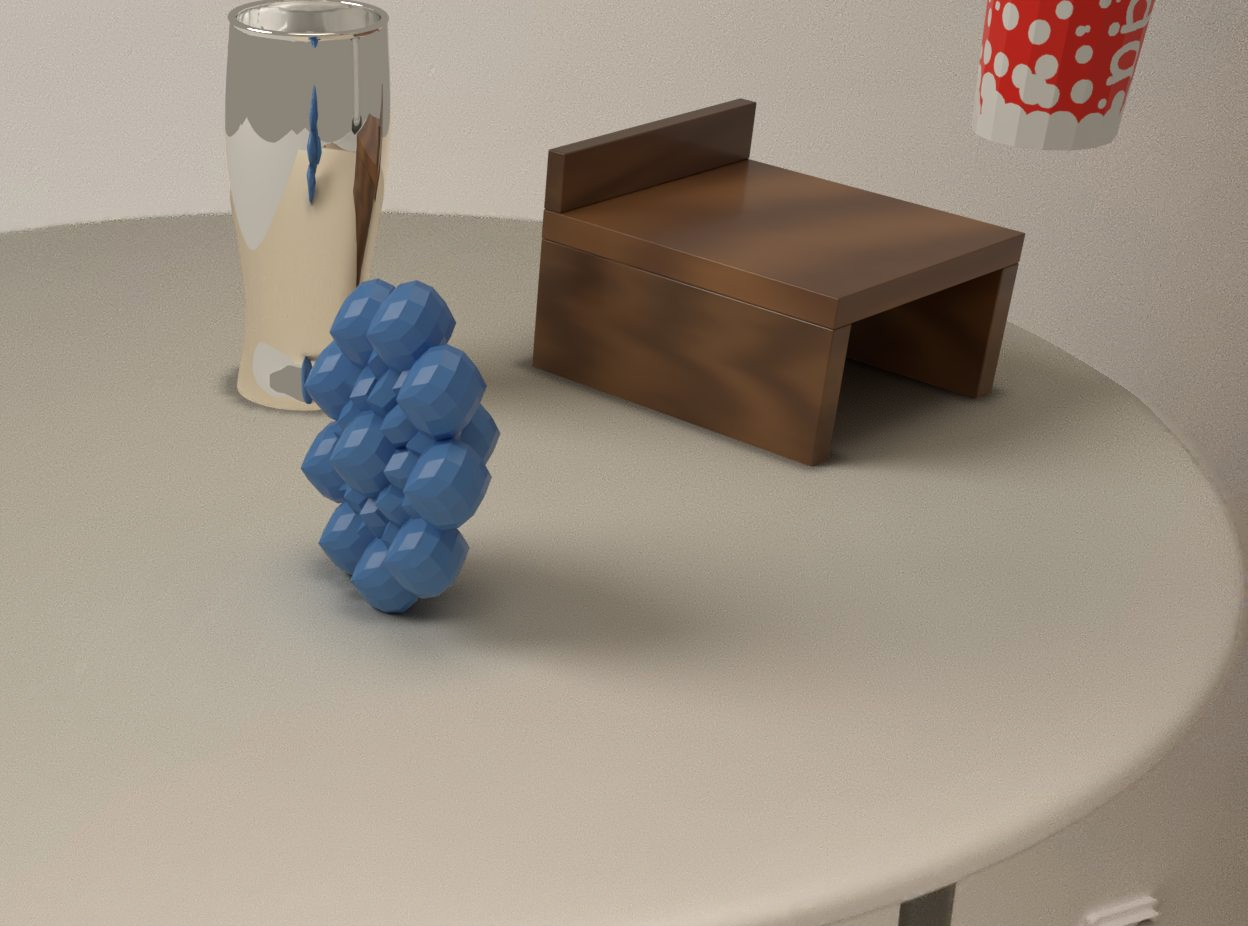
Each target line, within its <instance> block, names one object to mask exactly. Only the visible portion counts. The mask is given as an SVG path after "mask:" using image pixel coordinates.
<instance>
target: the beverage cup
mask: <svg viewBox="0 0 1248 926" xmlns="http://www.w3.org/2000/svg"><path fill="white" fill-rule="evenodd" d="M1155 2H1156V0H986V6H985V7H986V8H985V17H984V23H983V31H982V39H981V47H980V55H979V63H978V69H977V78H976V86H975V91H974V92H975V94H974V100H973V109H972V117H971V125H970V127H971V128H972V131H973V132H974V134H975V135H977V136H978V137H981V138H983V139H986V140H987V141H989V142H992V143H997V144H1002V145H1004V146H1008V147H1014V148H1022V149H1029V150H1037V151H1081V150H1089V149H1096V148H1100V147H1103V146H1105V145H1109V144H1112V143H1113V141H1114V140H1115V138H1117V136H1118V132H1119V129H1120V124H1121V122H1122V119H1123V114H1124V110H1125V108H1126V104H1127V101H1128V97H1129V93H1130V90H1131V87H1132V83H1133V79H1134V76H1135V73H1136V68H1137V65H1138V62H1139V58H1140V54H1141V52H1142V48H1143V44H1144V42H1145V37H1146V33H1147V30H1148V27H1149V23H1150V20H1151V17H1152V13H1153V8H1154V6H1155Z"/></svg>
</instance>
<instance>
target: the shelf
mask: <svg viewBox="0 0 1248 926" xmlns="http://www.w3.org/2000/svg"><path fill="white" fill-rule="evenodd" d="M756 111H757V102H756V101H753V100H750V99H746V98H745V99H744V98H741V97H740V98H736V99H733V100H729V101H725V102H721V103H717V104H714V105H711V106H707V107H702V108H699V109H695V110H691V111H688V112H683V113H680V114H677V115H673V116H669V117H665V118H662V119H657V120H654V121H651V122H646V123H643V124H639V125H636V126H632V127H628V128H624V129H620V130H616V131H613V132H609V133H606V134H605V133H604V134H602V135H598V136H594V137H590V138H587V139H583V140H579V141H576V142H575V141H574V142H572V143H568V144H565V145H560V146H557V147H552V148H549V149H548V151H547V161H546V163H547V164H546V176H545V190H544V201H543V202H544V203H543V208H544V209H543V215H542V226H541V227H542V229H541V243H540V254H539V255H540V256H539V269H538V282H537V295H536V296H537V297H536V310H535V321H534V322H535V323H534V336H533V346H532V347H533V349H532V359H531V360H532V361H531V367H533V368H536V369H538V370H541V371H544V372H547V373H549V374H552V375H555V376H558V377H560V378H563V379H566V380H569V381H573V382H574V383H576V384H577V383H578V384H580V385H583V386H585V387H589V388H591V389H594V390H597V391H598V392H599V391H600V392H602V393H605V394H608V395H611V396H613V397H615V398H619V399H622V400H624V401H627V402H630V403H633V404H636V405H638V406H641V407H644V408H646V409H650V410H652V411H655V412H658V413H661V414H664V415H666V416H669V417H672V418H674V419H676V420H680V421H682V422H686V423H689V424H692V425H694V426H696V427H699V428H703V429H706V430H708V431H711V432H712V433H713V432H714V433H716V434H719V435H722V436H725V437H728V438H730V439H733V440H736V441H739V442H741V443H744V444H748V445H750V446H753V447H755V448H758V449H761V450H764V451H766V452H769V453H771V454H775V455H777V456H781V457H783V458H786V459H788V460H791V461H794V462H796V463H800V464H801V465H802V464H803V465H805V466H808V467H814V466H817V465H819V464H822V463H824V462H827V461H829V460H830V459H829V458H830V453H831V447H832V441H833V435H834V429H835V424H836V423H835V422H836V418H837V417H836V416H837V412H838V404H839V400H840V393H841V387H842V381H843V374H844V369H845V363H846V358H847V359H851V360H854V361H857V362H860V363H863V364H866V365H870V366H873V367H876V368H879V369H882V370H885V371H887V372H888V371H889V372H891V373H894V374H896V375H899V376H900V375H901V376H904V377H906V378H910V379H913V380H916V381H919V382H922V383H925V384H928V385H932V386H935V387H938V388H940V389H944V390H947V391H951V392H954V393H956V394H960V395H963V396H966V397H969V398H971V399H975V400H978V399H980V398H982V397H984V396H985V397H986V396H987V395H989V394H992V392H993V386H994V382H995V376H996V372H997V367H998V362H999V358H1000V353H1001V350H1002V344H1003V339H1004V335H1005V332H1006V326H1007V321H1008V317H1009V312H1010V307H1011V302H1012V297H1013V292H1014V288H1015V282H1016V279H1017V276H1018V275H1017V274H1018V270H1019V265H1020V261H1021V257H1022V252H1023V248H1024V242H1025V237H1026V233H1025V232H1023V231H1019V230H1016V229H1011V228H1008V227H1005V226H1002V225H1001V226H1000V225H996V224H993V223H991V222H990V223H989V222H985V221H982V220H978V219H975V218H972V217H971V218H970V217H967V216H964V215H960V214H956V213H952V212H948V211H945V210H941V209H937V208H933V207H929V206H925V205H922V204H918V203H914V202H911V201H907V200H903V199H900V198H896V197H893V196H889V195H884V194H881V193H877V192H873V191H870V190H866V189H863V188H859V187H854V186H851V185H848V184H843V183H840V182H837V181H833V180H829V179H824V178H822V177H819V176H813V175H809V174H807V173H804V172H803V173H802V172H799V171H795V170H792V169H788V168H783V167H780V166H776V165H772V164H769V163H765V162H761V161H758V160H753V159H751V158H750V156H751V148H752V143H753V142H752V141H753V135H754V134H753V133H754V128H755V127H754V126H755V119H756Z"/></svg>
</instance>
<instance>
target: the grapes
mask: <svg viewBox="0 0 1248 926" xmlns="http://www.w3.org/2000/svg"><path fill="white" fill-rule="evenodd" d="M456 325H457V321H456V318H455V317H454V315H453V313H452V311H451V309H450V308H449V306H448V304H447V302H446V301H445V299H444V298H443V297H442V296H441V295H440V293H439V292H438V291H437V290H436V289H435V287H433V286H431V285H429V284H427V283H424V282H422V281H420V280H418V279H415V280H411V281H406V282H402V283H399V284H398V285H397V286H395V285H394V284H391V283H389V282H387V281H385V280H383V279H380V278H379V277H378V278H374V279H369V280H368V281H365V282H362V283H361V284H360V285H359V286H358V287H357V288H356V289H355V290H354V291H352V292H351V293H350V294H349V295H348V297H347V298H346V299H345V301H344V302H343V304H342V306H341V308H340V310H339V311H338V313H337V315H336V317H335V319H334V322H333V324H332V327H331V329H330V334H331V336H332V337H333V339H334V340H333V341H332V342H331V343H330V344H329V345H328V346H327V347H326V348H325V349H324V350H323V351H322V352H321V353H320V355H319V356H318V358H317V360H316V362H315V364H314V365H313V367H312V369H311V371H310V373H309V375H308V378H307V380H306V383H305V385H304V387H305V388H306V390H307V391H308V393H309V395H310V396H311V398H312V399H313V400H314V402H315V403H316V404H317V405H318V406H319V407H320V408H321V410H320V411H322V412H323V414H325V415H326V417H327V418H330V420H331V419H332V421H330V422H329V423H328V424H327V425H326V426H324V427H323V429H322V430H320V431H319V432H318V433H317V434H316V436H315V438H314V439H313V441H312V443H311V445H310V446H309V448H308V450H307V452H306V454H305V456H304V458H303V460H302V464H301V466H300V470H301V471H302V473H303V475H304V476H305V478H306V479H307V480H308V481H309V483H310V484H311V485H312V486H313V487H314V488H315V489H316V491H318V493H320V494H321V495H322V497H324V498H325V499H328V500H330V501H331V502H334V503H336V504H338V505H337V507H336V508H335V509H334V511H333V512H332V514H331V516H330V518H329V519H328V521H327V522H326V525H324V526H325V527H324V528H323V530H322V533H321V535H320V538H319V540H318V545H319V547H320V548H321V549H322V551H323V552H324V554H325V555H326V556H327V557H328V558H329V560H331V562H333V564H334V565H335V566H336V567H337V568H338V569H339V570H340V571H342V572H344V573H345V574H348V575H350V576H351V579H350V583H351V585H352V586H353V588H355V590H356V591H357V593H358V594H359V595H360V596H361V597H362V598H363V599H364V600H365V601H366V603H367V604H369V606H370V607H372V608H374V609H376V610H378V611H381V612H383V613H384V614H385V613H386V614H387V613H388V614H389V613H390V614H392V613H393V614H394V613H395V614H397V613H398V614H403V613H405V612H406V611H407V610H409V609H410V608H411V607H412V606H413V605H415V604H416V603H417V602H418V600H419V598H420V599H421V600H422V599H430V598H437V597H440V596H441V595H442V594H443V593H445V591H447V590H448V589H449V588H450V587H452V586H453V585H454V583H455V581H456V579H457V577H458V576H459V574H460V572H461V571H462V570H463V567H464V565H465V562H466V560H467V557H468V554H469V551H470V548H471V547H470V546H469V545H470V544H469V543H468V542H467V540H466V538H465V537H464V535H463V533H461V531H460V530H459V529H460V527H462V526H463V525H464V524H465V523H466V522H468V521H469V520H470V519H471V518H472V517H474V515H475V514H476V512H477V510H478V508H479V507H480V505H481V503H482V502H483V500H484V498H485V496H486V495H487V492H488V489H489V486H490V483H491V482H492V478H493V476H492V475H491V473H490V471H489V469H488V467H487V466H486V465H487V463H488V462H489V461H490V458H491V457H492V455H493V453H494V451H495V449H496V447H497V444H498V442H499V438H500V436H501V431H500V429H499V427H498V425H497V424H496V422H495V419H494V418H493V416H492V415H491V413H490V412H489V411H488V410H487V409H486V408H485V406H484V405H483V404H482V401H483V398H484V395H485V392H486V389H487V388H488V385H487V383H486V381H485V379H484V378H483V375H482V374H481V372H480V370H479V368H478V366H477V364H475V363H474V361H473V360H472V359H471V358H470V356H468V354H467V353H466V352H465V351H464V350H462V349H459V348H457V347H455V346H452V345H450V344H449V341H450V339H451V338H452V335H453V333H454V330H455V327H456Z"/></svg>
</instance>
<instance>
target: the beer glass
mask: <svg viewBox="0 0 1248 926" xmlns="http://www.w3.org/2000/svg"><path fill="white" fill-rule="evenodd" d="M389 22H390V15H389V14H388V12H387V11H385V10H384V9H383V8H381V7H379V6H377V5H373V4H370V3H366V2H362V1H357V0H255V1H251V2H247V3H243V4H240V5H238V6H236V7H234V8H233V9H231V10H229V12H228V14H227V39H226V40H227V41H226V54H225V56H226V57H225V72H224V90H223V142H224V143H223V144H224V165H225V172H226V180H227V181H226V182H227V189H228V198H229V203H230V208H231V215H232V220H233V222H232V223H233V227H234V233H235V239H236V244H237V250H238V255H239V261H240V262H239V263H240V269H241V274H242V282H243V289H244V304H245V305H244V306H245V307H244V308H245V316H244V319H245V320H244V321H245V322H244V323H245V324H244V335H243V343H242V349H241V355H240V361H239V367H238V374H237V382H236V389H237V391H238V392H239V394H240V395H241V396H242V397H244V398H245V399H246V400H248V401H250V402H253V403H254V404H257V405H261V406H265V407H269V408H273V409H279V410H286V411H287V410H288V411H302V412H303V411H306V412H308V411H310V412H311V411H322V410H321V408H320V407H319V406H318V405H317V404H316V403H315V402H314V400H313V399H312V398H311V396H310V395H309V393H308V391H307V390H306V388H305V387H304V385H305V383H306V380H307V378H308V375H309V373H310V371H311V369H312V367H313V365H314V364H315V362H316V360H317V358H318V356H319V355H320V353H321V352H322V351H323V350H324V349H325V348H326V347H327V346H328V345H329V344H330V343H331V342H332V341H333V340H334V339H333V337H332V336H331V334H330V329H331V327H332V324H333V322H334V319H335V317H336V315H337V313H338V311H339V310H340V308H341V306H342V304H343V302H344V301H345V299H346V298H347V297H348V295H349V294H350V293H351V292H352V291H354V290H355V289H356V288H357V287H358V286H359V285H360V284H361V283H362V282H365V281H369V280H370V273H371V267H372V262H373V257H374V251H375V246H376V242H377V236H378V230H379V225H380V220H381V215H382V210H383V205H384V204H383V203H384V198H385V192H386V184H387V177H388V170H389V162H390V148H391V147H390V146H391V132H392V126H391V125H392V89H391V88H392V87H391V83H392V82H391V61H390V57H391V56H390V41H389V40H390V39H389Z"/></svg>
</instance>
